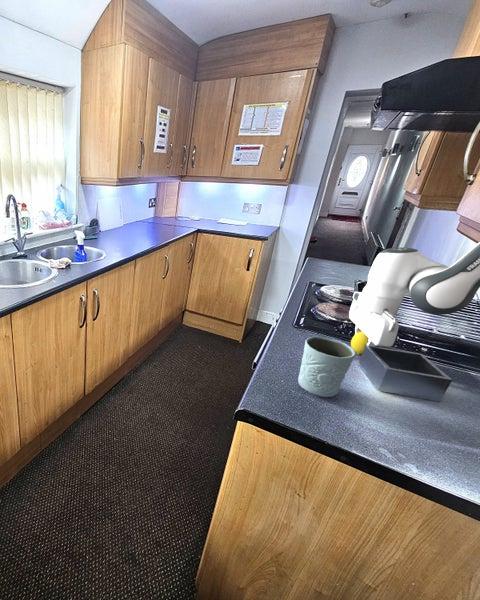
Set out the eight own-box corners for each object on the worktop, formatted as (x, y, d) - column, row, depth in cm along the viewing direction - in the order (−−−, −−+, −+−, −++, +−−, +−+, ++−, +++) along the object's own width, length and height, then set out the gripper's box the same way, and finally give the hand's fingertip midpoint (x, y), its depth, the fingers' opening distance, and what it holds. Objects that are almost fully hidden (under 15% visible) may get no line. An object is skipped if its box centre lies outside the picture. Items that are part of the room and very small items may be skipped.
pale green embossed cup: (320, 402, 79) (335, 361, 74) (284, 378, 88) (296, 339, 83) (350, 393, 82) (366, 353, 77) (312, 370, 91) (324, 333, 86)
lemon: (371, 354, 100) (380, 331, 97) (369, 361, 96) (378, 338, 93) (348, 347, 104) (356, 325, 100) (346, 354, 100) (354, 331, 97)
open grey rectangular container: (411, 373, 91) (421, 353, 89) (440, 402, 80) (452, 379, 78) (357, 364, 95) (365, 344, 92) (377, 390, 84) (387, 368, 81)
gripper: (412, 319, 83) (392, 365, 89) (376, 293, 101) (360, 332, 107) (382, 316, 85) (364, 361, 91) (351, 290, 103) (338, 329, 108)
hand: (362, 345), depth 99 cm, fingers closed on lemon, 5 cm apart
